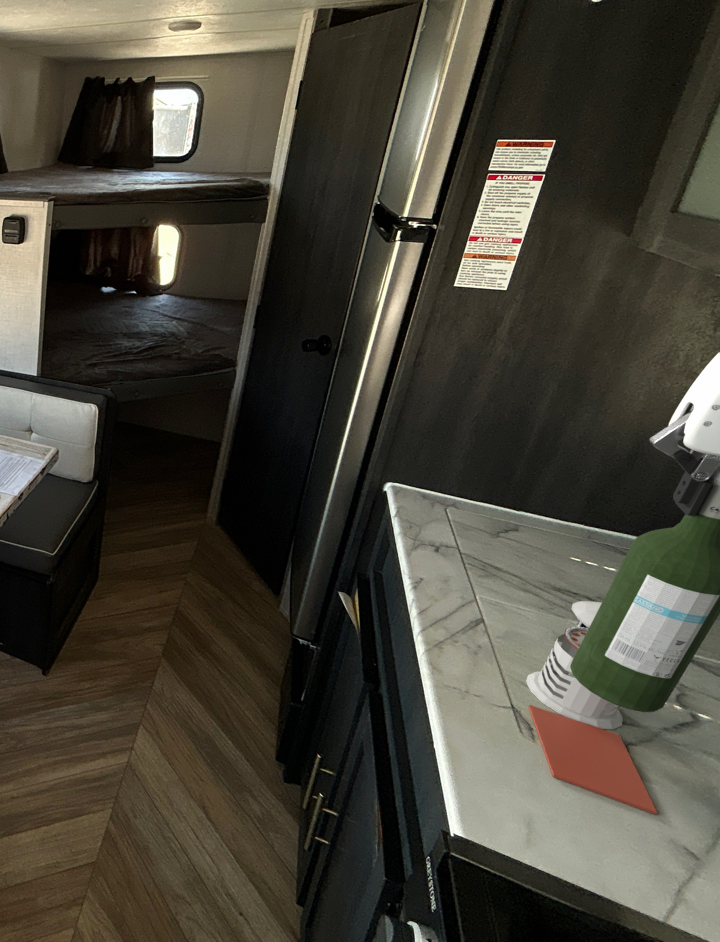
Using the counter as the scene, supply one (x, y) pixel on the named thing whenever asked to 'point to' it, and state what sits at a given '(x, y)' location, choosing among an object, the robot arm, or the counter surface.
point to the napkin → (590, 758)
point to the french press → (573, 678)
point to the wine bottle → (655, 612)
